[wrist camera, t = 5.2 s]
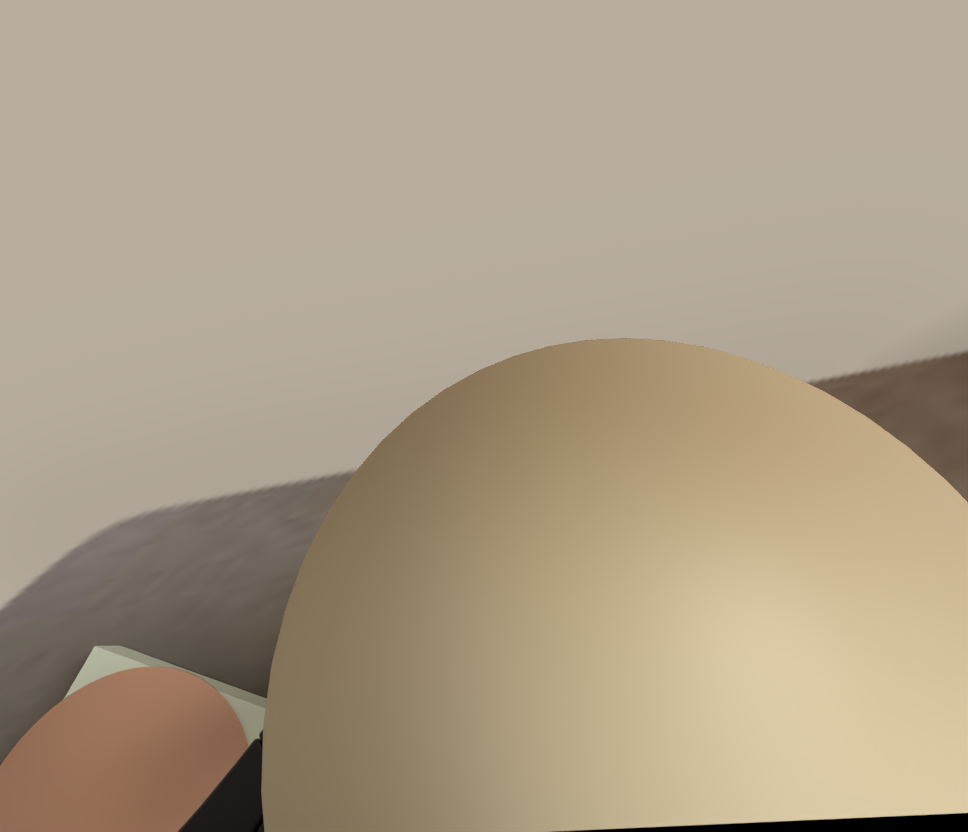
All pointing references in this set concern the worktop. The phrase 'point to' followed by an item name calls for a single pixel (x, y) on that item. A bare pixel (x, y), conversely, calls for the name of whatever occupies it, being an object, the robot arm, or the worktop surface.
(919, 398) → the worktop surface
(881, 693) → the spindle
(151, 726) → the board
